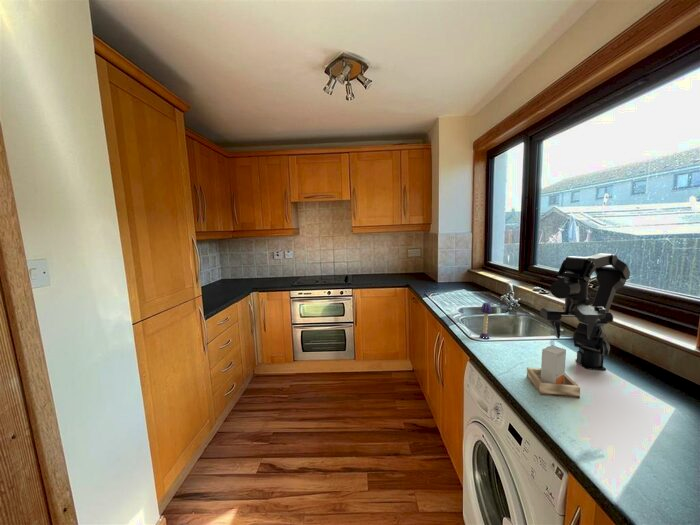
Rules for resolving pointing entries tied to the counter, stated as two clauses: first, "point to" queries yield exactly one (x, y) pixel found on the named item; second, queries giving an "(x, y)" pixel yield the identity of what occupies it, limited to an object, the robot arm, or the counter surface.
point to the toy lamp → (485, 318)
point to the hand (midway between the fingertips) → (573, 338)
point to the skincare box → (553, 365)
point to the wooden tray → (553, 385)
